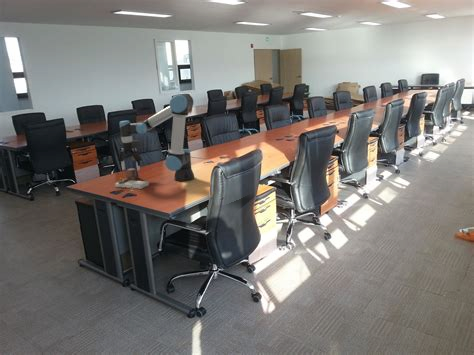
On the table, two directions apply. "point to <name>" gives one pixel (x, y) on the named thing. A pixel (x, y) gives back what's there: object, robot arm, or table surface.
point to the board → (132, 184)
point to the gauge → (129, 176)
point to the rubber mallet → (135, 145)
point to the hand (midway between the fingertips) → (131, 169)
